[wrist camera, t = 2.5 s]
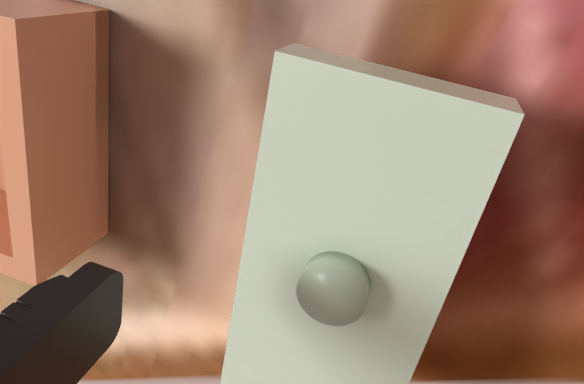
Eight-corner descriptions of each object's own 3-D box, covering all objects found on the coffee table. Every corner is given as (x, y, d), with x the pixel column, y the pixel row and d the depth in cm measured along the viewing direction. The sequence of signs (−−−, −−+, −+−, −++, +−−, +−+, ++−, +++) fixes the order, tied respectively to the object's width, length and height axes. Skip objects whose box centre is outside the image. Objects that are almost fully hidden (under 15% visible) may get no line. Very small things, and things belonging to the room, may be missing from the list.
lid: (516, 98, 12) (530, 124, 10) (386, 410, 18) (378, 469, 15) (293, 42, 13) (264, 55, 11) (237, 353, 19) (210, 400, 17)
